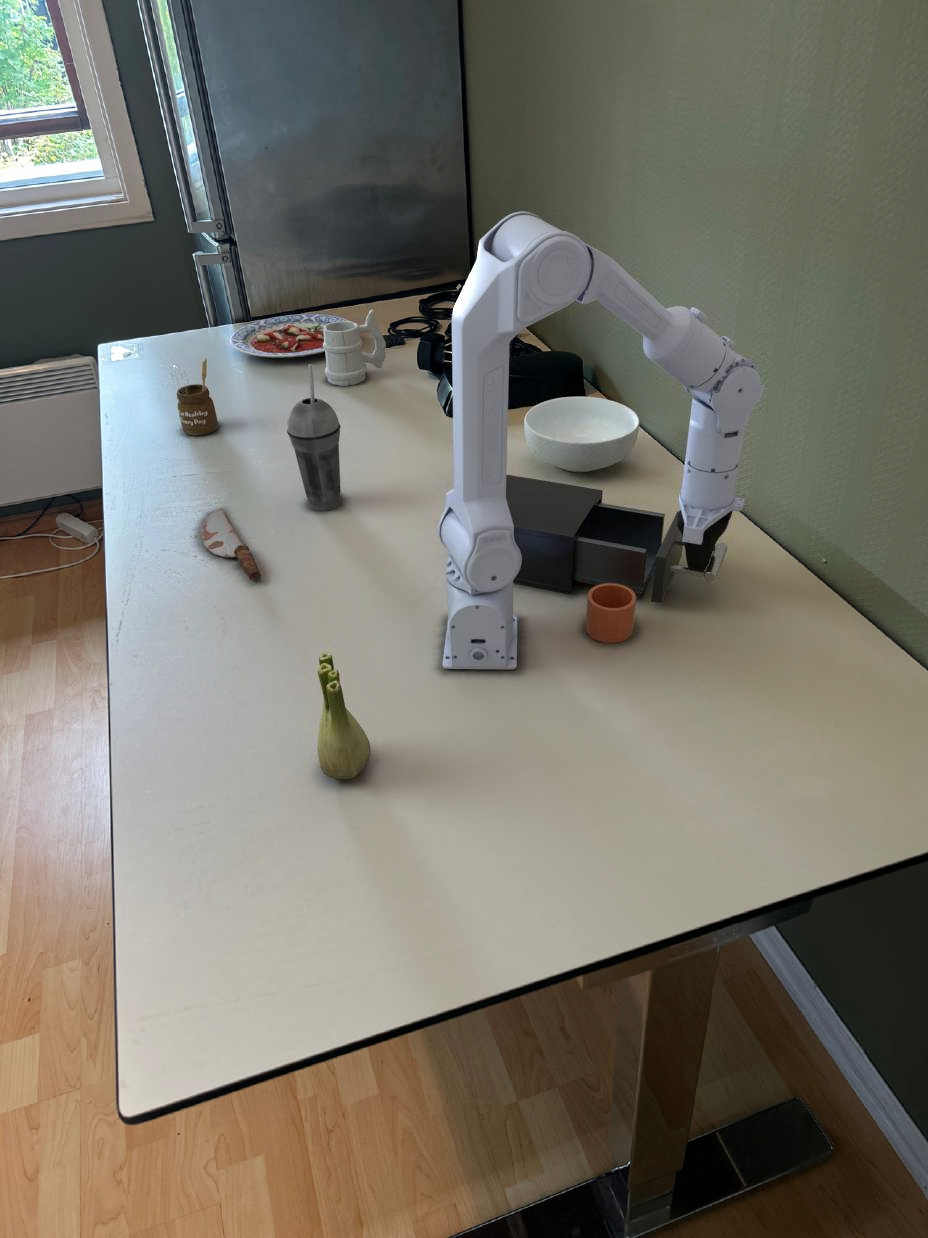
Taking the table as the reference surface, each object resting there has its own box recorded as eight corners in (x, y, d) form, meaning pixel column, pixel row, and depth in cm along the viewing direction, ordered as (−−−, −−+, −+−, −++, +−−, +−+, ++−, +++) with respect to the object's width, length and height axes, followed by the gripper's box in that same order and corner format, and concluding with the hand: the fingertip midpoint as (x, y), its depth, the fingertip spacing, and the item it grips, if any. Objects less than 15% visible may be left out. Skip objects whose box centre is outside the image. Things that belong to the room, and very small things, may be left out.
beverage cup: (288, 509, 127) (265, 373, 115) (318, 487, 132) (298, 354, 120) (331, 519, 124) (311, 381, 112) (359, 496, 129) (343, 362, 117)
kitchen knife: (189, 514, 125) (223, 501, 127) (193, 524, 126) (227, 511, 128) (222, 583, 109) (260, 568, 110) (226, 594, 110) (264, 579, 111)
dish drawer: (726, 565, 109) (733, 520, 106) (709, 613, 101) (716, 567, 98) (585, 539, 115) (587, 496, 112) (558, 583, 107) (559, 538, 104)
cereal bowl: (549, 495, 127) (550, 449, 123) (508, 448, 140) (508, 405, 136) (655, 474, 131) (660, 429, 127) (606, 431, 144) (609, 389, 140)
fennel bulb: (331, 742, 88) (314, 646, 81) (379, 747, 87) (366, 650, 80) (313, 785, 83) (293, 687, 76) (363, 791, 82) (349, 692, 75)
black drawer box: (599, 545, 116) (602, 489, 111) (570, 595, 107) (573, 536, 102) (502, 527, 120) (501, 473, 116) (466, 573, 112) (464, 516, 107)
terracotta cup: (635, 643, 99) (638, 610, 96) (587, 643, 99) (588, 610, 97) (630, 615, 103) (633, 583, 100) (584, 615, 103) (586, 582, 101)
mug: (322, 374, 169) (314, 311, 162) (383, 366, 172) (377, 302, 165) (330, 389, 163) (321, 323, 156) (392, 379, 166) (387, 314, 159)
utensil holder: (189, 422, 153) (173, 353, 146) (225, 422, 153) (210, 353, 146) (177, 436, 149) (160, 366, 141) (214, 436, 148) (198, 366, 141)
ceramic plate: (276, 376, 169) (273, 361, 168) (208, 346, 185) (205, 331, 183) (382, 342, 183) (381, 327, 181) (311, 316, 199) (309, 302, 197)
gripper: (738, 496, 90) (720, 606, 98) (760, 439, 101) (742, 542, 109) (668, 486, 92) (657, 593, 100) (697, 430, 103) (684, 532, 111)
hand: (697, 566), depth 105 cm, fingers closed, pressing on dish drawer
